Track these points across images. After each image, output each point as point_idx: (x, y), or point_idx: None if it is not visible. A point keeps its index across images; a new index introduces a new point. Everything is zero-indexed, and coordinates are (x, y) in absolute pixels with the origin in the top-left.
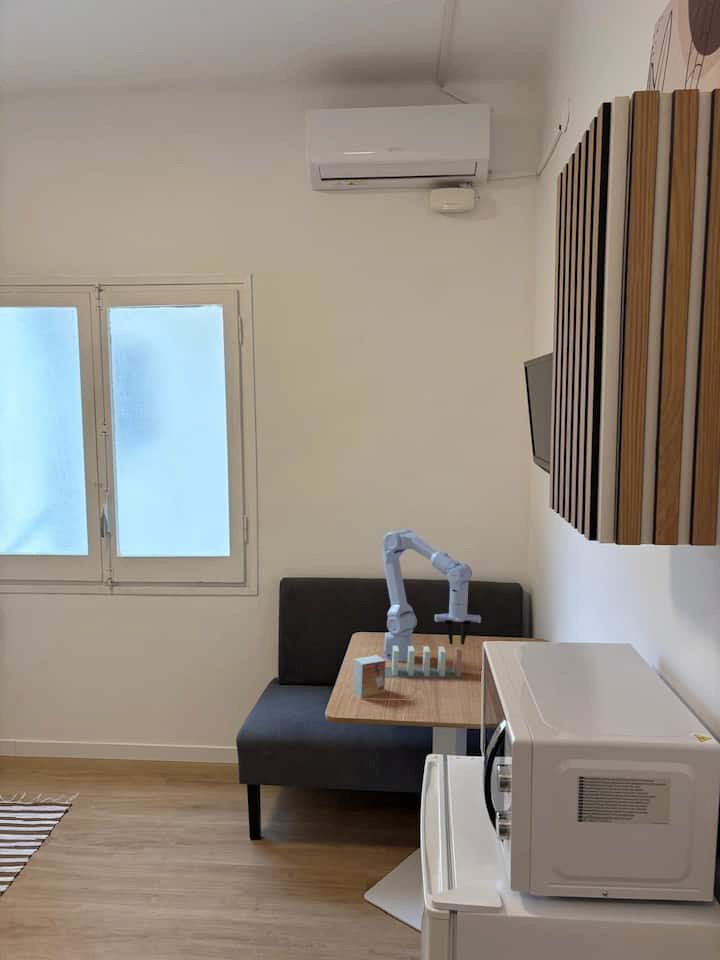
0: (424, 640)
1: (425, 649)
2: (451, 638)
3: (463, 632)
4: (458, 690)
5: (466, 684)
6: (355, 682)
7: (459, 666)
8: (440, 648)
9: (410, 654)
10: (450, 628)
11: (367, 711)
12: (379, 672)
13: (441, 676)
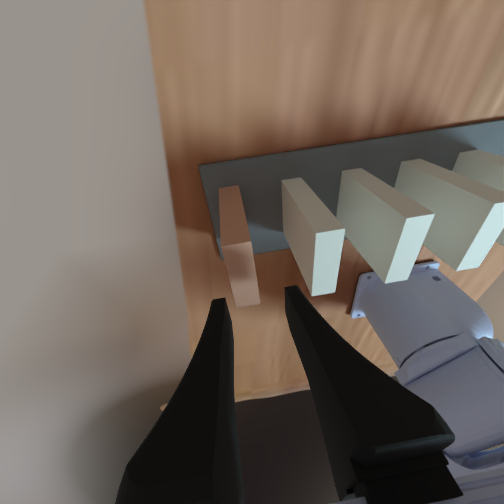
0: (300, 375)
1: (418, 243)
2: (306, 314)
3: (218, 379)
4: (225, 8)
5: (189, 115)
6: None
7: (227, 205)
8: (333, 272)
9: (497, 192)
10: (369, 394)
11: None
12: None
13: (295, 175)
